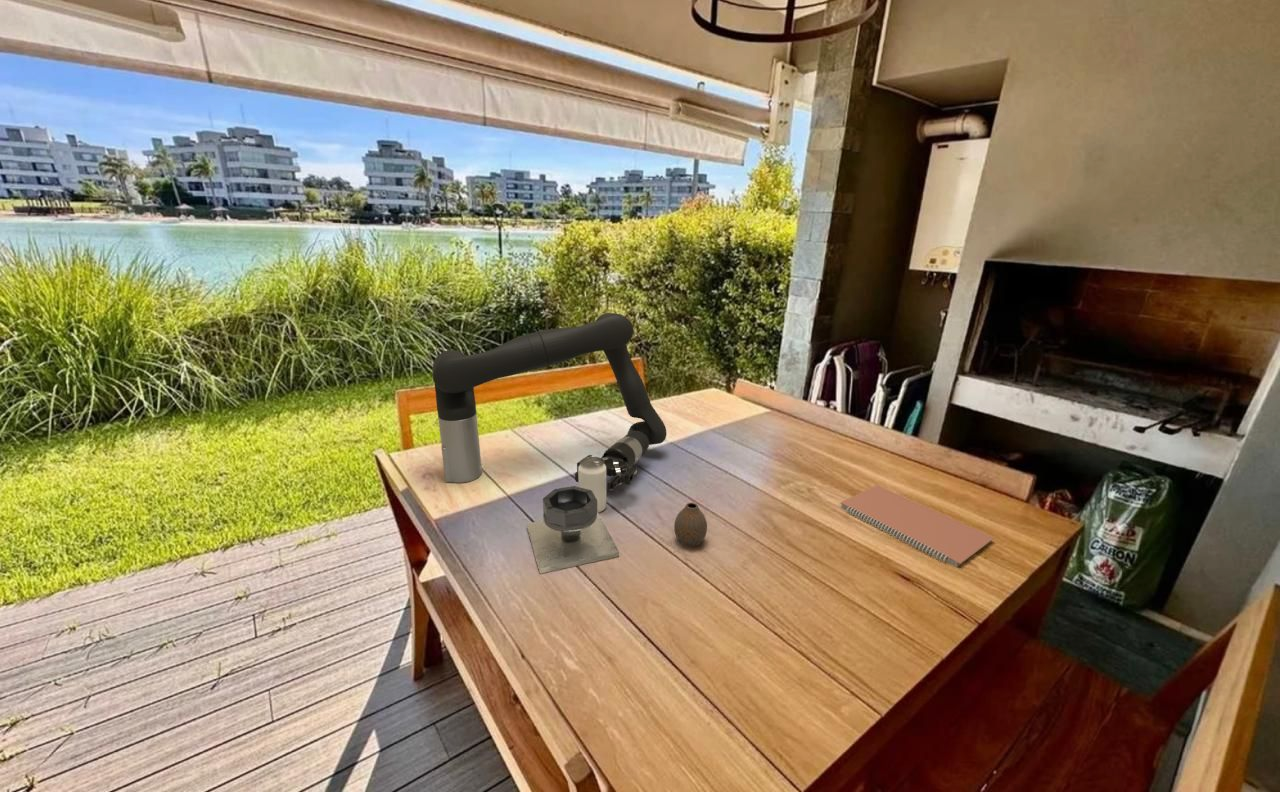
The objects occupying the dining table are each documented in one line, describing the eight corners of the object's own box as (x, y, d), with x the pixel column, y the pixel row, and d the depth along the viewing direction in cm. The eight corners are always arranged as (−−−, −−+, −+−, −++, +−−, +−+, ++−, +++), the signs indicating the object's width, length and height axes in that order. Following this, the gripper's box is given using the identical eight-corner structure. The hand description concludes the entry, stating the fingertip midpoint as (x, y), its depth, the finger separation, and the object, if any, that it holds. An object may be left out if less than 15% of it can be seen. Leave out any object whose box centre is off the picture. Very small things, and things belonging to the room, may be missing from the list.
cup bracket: (540, 573, 96) (537, 528, 92) (527, 528, 110) (524, 487, 106) (618, 556, 101) (619, 512, 98) (597, 515, 115) (596, 475, 112)
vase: (708, 535, 109) (711, 500, 106) (702, 554, 102) (704, 517, 100) (678, 528, 111) (680, 494, 108) (669, 546, 105) (671, 510, 102)
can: (602, 516, 115) (602, 469, 111) (575, 512, 116) (574, 466, 112) (609, 501, 121) (609, 457, 117) (583, 498, 122) (582, 454, 118)
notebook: (836, 510, 120) (837, 502, 120) (875, 490, 129) (877, 484, 129) (955, 572, 99) (957, 564, 99) (992, 544, 108) (994, 536, 108)
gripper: (598, 437, 131) (565, 461, 117) (648, 447, 125) (620, 474, 111) (599, 462, 133) (566, 490, 119) (647, 473, 128) (620, 504, 114)
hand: (592, 482), depth 115 cm, fingers open, 8 cm apart
